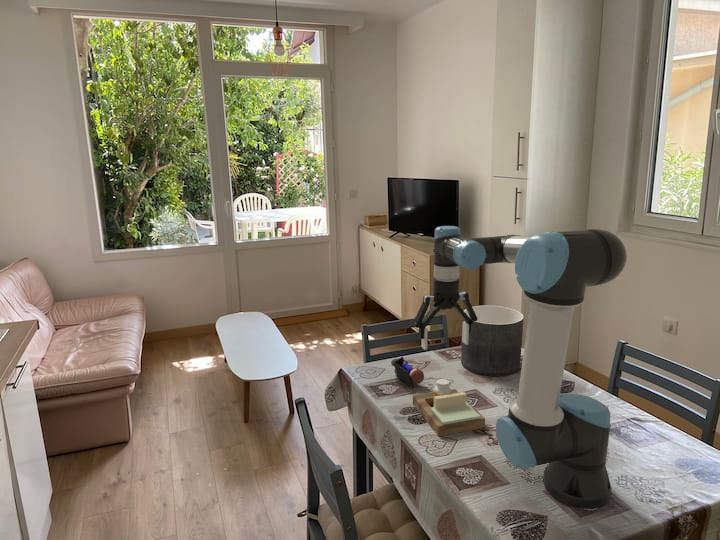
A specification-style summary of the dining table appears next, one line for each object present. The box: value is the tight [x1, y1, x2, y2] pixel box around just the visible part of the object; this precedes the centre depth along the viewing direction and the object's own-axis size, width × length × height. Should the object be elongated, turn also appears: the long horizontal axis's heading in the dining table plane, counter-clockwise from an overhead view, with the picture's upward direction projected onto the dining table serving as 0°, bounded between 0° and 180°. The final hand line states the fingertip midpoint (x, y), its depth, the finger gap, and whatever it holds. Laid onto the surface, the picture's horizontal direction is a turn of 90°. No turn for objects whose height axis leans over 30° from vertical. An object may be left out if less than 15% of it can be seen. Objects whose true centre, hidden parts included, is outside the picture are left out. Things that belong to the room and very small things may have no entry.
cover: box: [430, 391, 480, 425], centre depth 153 cm, size 9×12×4 cm
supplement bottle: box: [433, 378, 452, 397], centre depth 161 cm, size 5×5×10 cm
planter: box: [460, 305, 524, 377], centre depth 193 cm, size 22×22×20 cm
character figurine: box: [390, 356, 425, 388], centre depth 182 cm, size 8×7×15 cm
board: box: [412, 388, 486, 437], centre depth 159 cm, size 20×15×3 cm
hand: (444, 345), depth 157 cm, fingers open, 13 cm apart
